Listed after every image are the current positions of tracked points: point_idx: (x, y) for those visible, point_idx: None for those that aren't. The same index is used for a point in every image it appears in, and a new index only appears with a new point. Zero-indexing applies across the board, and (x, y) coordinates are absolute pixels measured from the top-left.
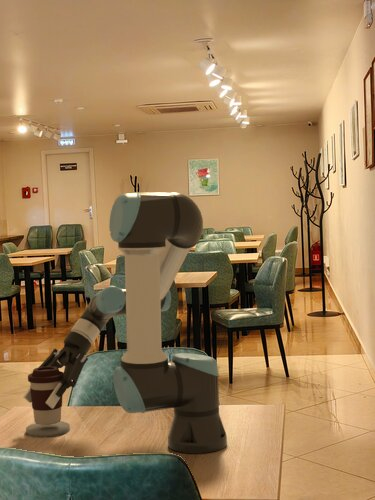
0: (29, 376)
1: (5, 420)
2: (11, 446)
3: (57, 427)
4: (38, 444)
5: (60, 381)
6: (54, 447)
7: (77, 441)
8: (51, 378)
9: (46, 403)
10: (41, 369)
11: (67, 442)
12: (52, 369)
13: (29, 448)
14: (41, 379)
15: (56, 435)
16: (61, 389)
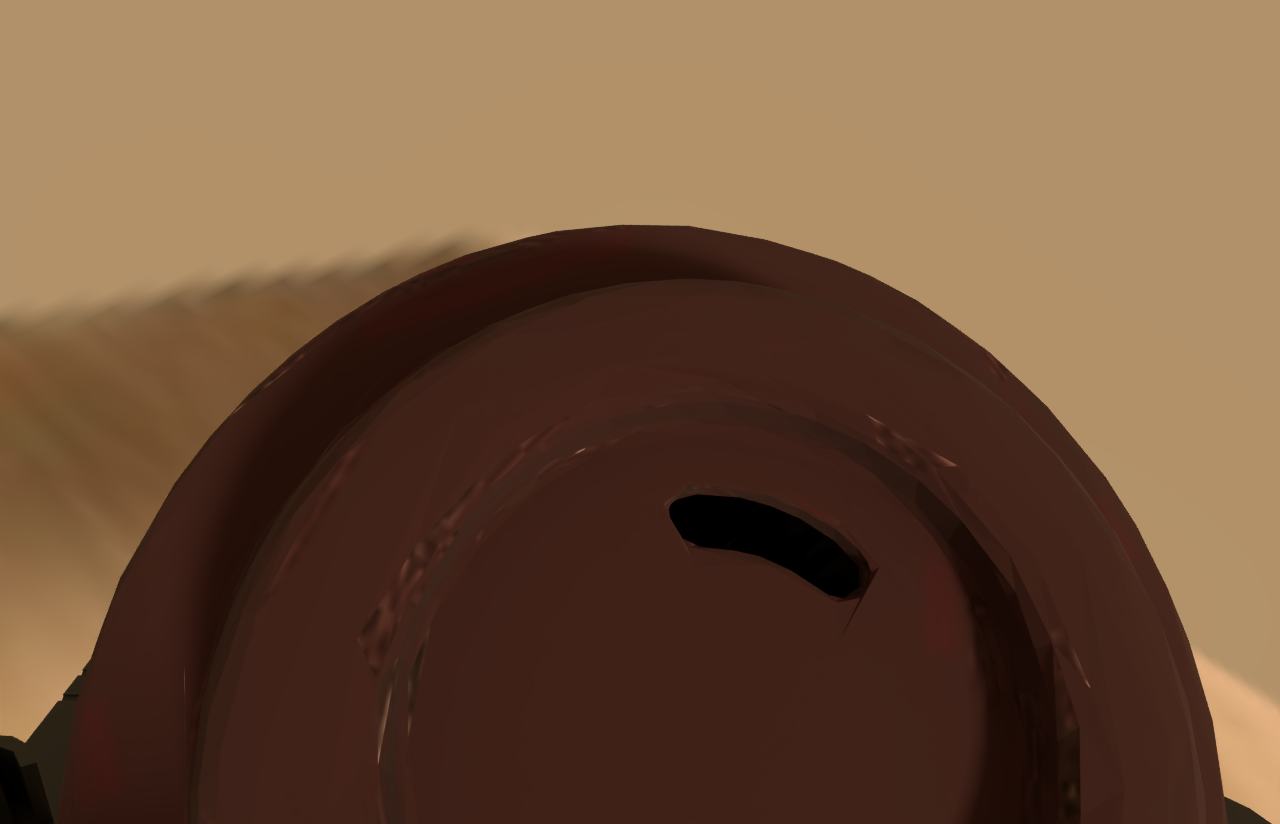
0: (812, 262)
1: (1209, 671)
2: (481, 246)
3: None
4: None
5: (15, 766)
6: (120, 415)
7: (28, 668)
8: (162, 519)
9: None
10: (1022, 742)
11: (109, 583)
12: (328, 785)
13: (308, 287)
14: (369, 308)
15: None
16: (50, 714)
